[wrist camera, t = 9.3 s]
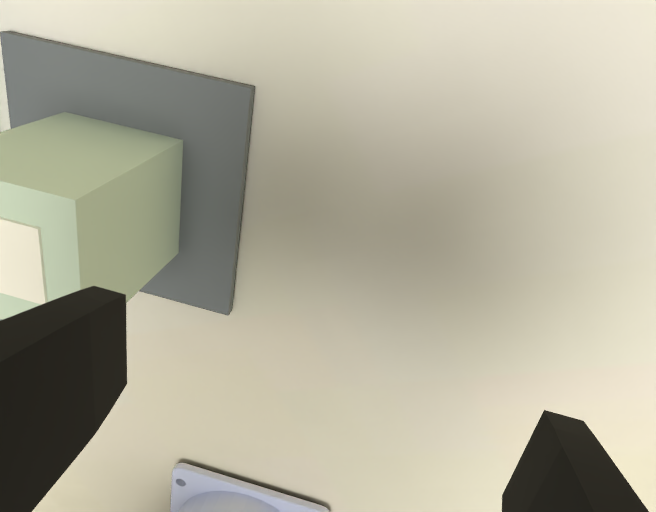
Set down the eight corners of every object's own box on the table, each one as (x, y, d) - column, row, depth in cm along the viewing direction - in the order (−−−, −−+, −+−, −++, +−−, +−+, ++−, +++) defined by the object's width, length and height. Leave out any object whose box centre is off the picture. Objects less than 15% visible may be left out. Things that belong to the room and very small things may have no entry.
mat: (231, 310, 22) (228, 315, 21) (32, 255, 23) (25, 260, 22) (254, 86, 18) (250, 88, 17) (8, 30, 19) (-1, 31, 18)
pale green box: (178, 252, 21) (81, 345, 15) (72, 225, 21) (-58, 304, 16) (183, 140, 19) (72, 201, 13) (64, 112, 19) (-88, 160, 14)
